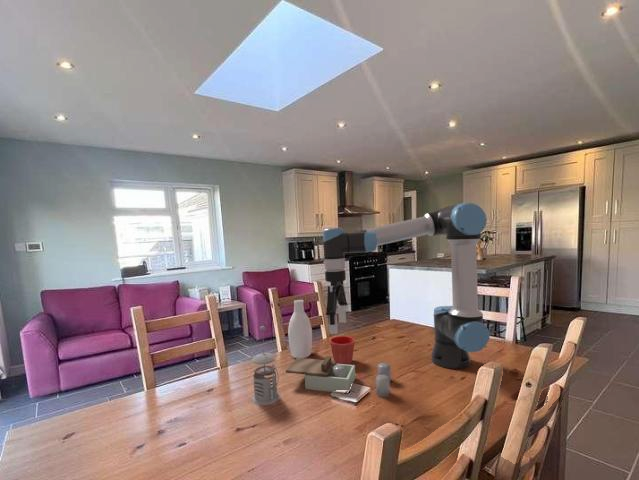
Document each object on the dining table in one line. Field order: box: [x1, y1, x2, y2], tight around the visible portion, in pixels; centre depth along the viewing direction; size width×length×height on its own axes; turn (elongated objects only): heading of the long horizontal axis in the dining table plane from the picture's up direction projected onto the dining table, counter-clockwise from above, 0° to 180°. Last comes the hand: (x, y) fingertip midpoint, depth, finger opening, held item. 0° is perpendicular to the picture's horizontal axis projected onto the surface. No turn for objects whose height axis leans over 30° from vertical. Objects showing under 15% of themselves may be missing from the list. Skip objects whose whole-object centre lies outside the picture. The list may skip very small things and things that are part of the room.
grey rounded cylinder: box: [375, 374, 391, 398], centre depth 108 cm, size 5×5×6 cm
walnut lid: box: [285, 355, 336, 377], centre depth 119 cm, size 16×12×3 cm
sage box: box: [304, 364, 356, 393], centre depth 117 cm, size 16×12×5 cm
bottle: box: [287, 299, 313, 359], centre depth 146 cm, size 11×11×25 cm
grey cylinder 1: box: [333, 365, 346, 378], centre depth 116 cm, size 5×5×6 cm
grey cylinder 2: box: [377, 362, 392, 383], centre depth 118 cm, size 5×5×6 cm
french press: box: [251, 325, 281, 406], centre depth 108 cm, size 10×12×25 cm
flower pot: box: [329, 335, 356, 365], centre depth 136 cm, size 11×11×10 cm
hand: (338, 327), depth 116 cm, fingers open, 13 cm apart
